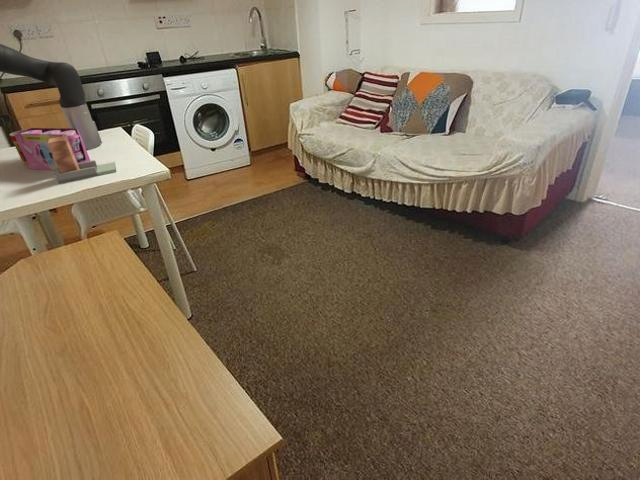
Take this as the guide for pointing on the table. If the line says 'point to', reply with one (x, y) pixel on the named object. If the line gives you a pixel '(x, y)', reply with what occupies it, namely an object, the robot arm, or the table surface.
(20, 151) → the canned food
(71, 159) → the block
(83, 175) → the chute
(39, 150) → the gum box
